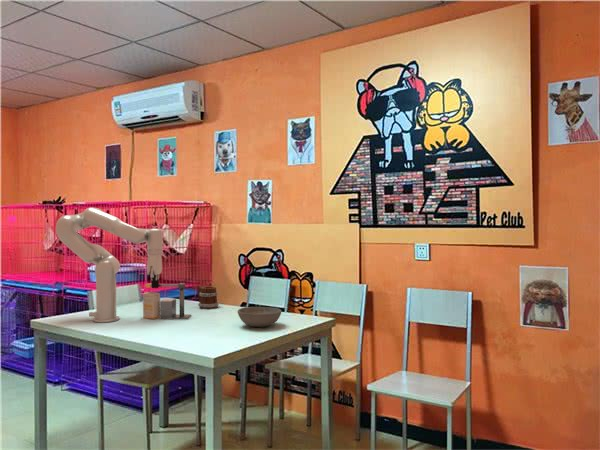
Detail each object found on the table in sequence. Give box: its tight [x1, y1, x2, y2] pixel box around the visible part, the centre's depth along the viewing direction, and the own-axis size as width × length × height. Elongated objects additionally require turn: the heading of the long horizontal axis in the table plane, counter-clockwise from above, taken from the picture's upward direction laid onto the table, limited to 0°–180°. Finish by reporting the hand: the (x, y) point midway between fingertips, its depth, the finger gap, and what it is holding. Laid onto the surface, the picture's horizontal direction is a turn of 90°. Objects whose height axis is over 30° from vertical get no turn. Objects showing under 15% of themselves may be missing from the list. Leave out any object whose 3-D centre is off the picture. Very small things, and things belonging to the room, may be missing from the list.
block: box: [159, 298, 177, 320], centre depth 254 cm, size 6×8×9 cm
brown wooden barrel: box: [196, 284, 219, 310], centre depth 284 cm, size 12×14×15 cm
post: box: [171, 288, 192, 320], centre depth 253 cm, size 8×8×16 cm
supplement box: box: [142, 291, 161, 320], centre depth 254 cm, size 8×5×13 cm, turn 58°
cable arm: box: [144, 282, 186, 289], centre depth 253 cm, size 20×4×2 cm, turn 88°
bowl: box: [237, 306, 283, 328], centre depth 233 cm, size 21×21×8 cm
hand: (155, 287), depth 250 cm, fingers closed
